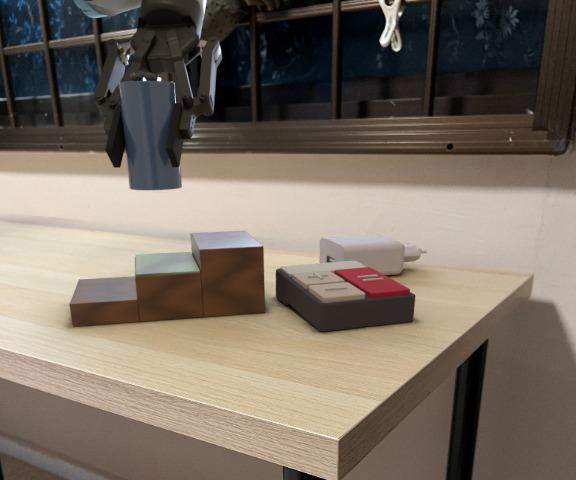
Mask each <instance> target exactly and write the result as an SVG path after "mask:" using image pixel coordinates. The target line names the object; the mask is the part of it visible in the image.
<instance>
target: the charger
mask: <svg viewBox="0 0 576 480" xmlns="http://www.w3.org/2000/svg"><path fill="white" fill-rule="evenodd" d="M427 253H428V250H427V249H424V250H423V249H422V248H421V247H419V248H418V247H417V246H416V245H414V244H411V243H403V242H400V241H398V240H396V239H393V238H390V237H387V236H384V235H380V234H377V233H376V234H375V233H374V234H361V235H344V236H328V237H321V238H320V239H319V257H318V259H319V262H318V263H331V262H343V261H357V262H359V263H360V264H362V265H364V266H366V267H370V268H372V269H374V270H376V271H378V272H380V273H382V274H383V275H385V276H394V275H399V274H401V272H402V271H404V265H405V264H404V263H410V262H412V263H413V262H416V261H417V260H419V259H420V258H421V257H422V254H427Z"/></svg>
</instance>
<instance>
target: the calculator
mask: <svg viewBox="0 0 576 480" xmlns="http://www.w3.org/2000/svg"><path fill="white" fill-rule="evenodd" d="M275 298H277V299H278V300H279V301H280V302H281V303H282V304H283V305H284V306H290V307H292V309H294V310H295V311H296V312H297V313H299V315H301V316H302V317H303V318H304V319H305V320H306V321H308V322H309V323H310V324H311V325H312V326H313V327H314V328H315V329H316V330H318V331H319V332H322V333H325V332H332V331H342V330H350V329H359V328H369V327H377V326H383V325H393V324H402V323H410V322H413V321H414V314H415V305H416V294H415V293H413V292H411V288H409V287H407V286H405V285H403V284H402V283H400V282H398V281H396V280H395V279H393V278H391V277H389V276H388V275H383V274H382V273H380V272H378V271H376V270H374V269H372V268H370V267H366V266H364V265H362V264H360V263H359V262H357V261H343V262H331V263H319V262H318V263H308V264H307V263H306V264H294V265H283V266H280V268H276V270H275Z"/></svg>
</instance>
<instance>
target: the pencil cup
mask: <svg viewBox="0 0 576 480" xmlns="http://www.w3.org/2000/svg"><path fill="white" fill-rule="evenodd" d="M130 78H131V80H132V81H125V82H119V83H118V86H119V95H120V104H121V114H122V123H123V132H124V142H125V149H124V152H125V159H126V160H125V161H126V168H127V178H128V179H127V180H128V189H129V190H133V191H167V190H168V191H169V190H177V189H182V188H183V182H182V181H183V180H182V169H181V168H182V167H181V165H180V166H179V167H172V164H171V162H170V159H169V156H168V153H167V151H166V146H167V141H168V135H169V130H170V125H171V120H172V114H173V109H174V104H175V103H177V101H176V88H175V87H176V85H175V82H173V81H167V80H166V81H165V80H162V77H161V76H160V75H159V74H153V73H150V72H148V73H146V74H145V75H142V74H138V73H132V74H131V75H130Z"/></svg>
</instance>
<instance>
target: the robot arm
mask: <svg viewBox="0 0 576 480" xmlns="http://www.w3.org/2000/svg"><path fill="white" fill-rule="evenodd" d="M73 2H74V3H75V5H76V6H77V7H78V9H81V11H82V13H83V14H84V15H85V16H86V17H88V18H91V19H98V18H104V17H110V18H111V17H116V16H117V15H119V14H121V13H124V12H129V11H132V10H135V9H138V8H139V11H138V16H137V21H136V31H135V33H134V34H133V35H132V36H131V37H130V39H129V41H127V42H122V43H118V41H117V39H116V38H109V40H107V42H106V48H107V55H106V58H105V61H104V63H103V64H104V65H103V67H102V70H101V72H100V73H101V74H100V76H99V80H98V82H97V84H96V88H95V90H94V93H93V98H92V99H93V101H94V103H95V105H96V107H97V110H98V112H99V114H100V117H102V118H105V119H104V123H103V131H104V133H105V135H106V136H107V140H106V144H105V148H104V150H105V153H106V155H107V157H108V159H109V161H110V163H111V165H112V167H113V168H121V166H122V162H123V158H124V153H125V142H124V132H123V123H122V114H121V104H120V95H119V86H118V83H119V82H125V81H132V80H131V78H130V75H131V74H132V73H138V74H142V75H145V74H146V73H148V72H150V73H153V74H157V75H159V74H161V73H166V74H175V77H176V82H177V85H178V90H179V94H180V95H179V96H180V99H181V102H176V103H175V104H174V109H173V114H172V120H171V125H170V130H169V135H168V141H167V146H166V151H167V153H168V156H169V159H170V162H171V164H172V167H179V166H180V167H181V160H182V154H183V147H184V142H185V140H191V139H192V138H193V136H194V129H195V125H196V120H197V118H198V117H199V116H202V115H203V116H204V117H210V116H213V114H214V112H215V111H214V110H215V97H216V96H215V95H216V80H217V68H218V66H219V65H220V64H221V61H222V59H223V54H222V49H221V44H220V40H219V37H218V36H216V35H211V36H210V37H209V38H208V39H207V40H203V39H201V34H202V29H203V23H204V22H203V21H204V19H205V12H206V7H207V0H73ZM199 55H200V57H201V61H200V71H199V72H200V73H199V86H198V96H195V97H194V96H193V92H192V88H191V84H190V79H189V75H188V70H187V66H188V65H189V64H190V63H192V61H194V59H196V58H197V57H198V56H199ZM131 56H132V62H131V64H130V65H129V59H130V57H131ZM125 66H128V68H127V70H126V72H125V69H126V67H125Z"/></svg>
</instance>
